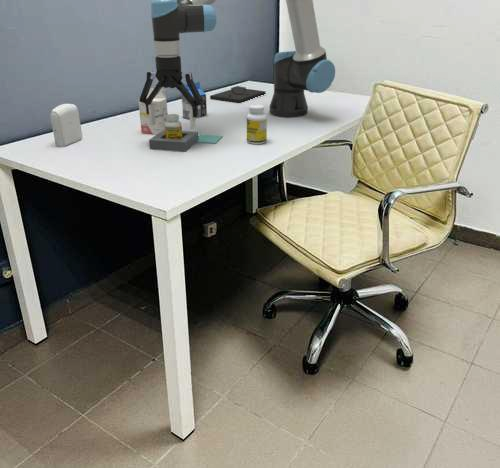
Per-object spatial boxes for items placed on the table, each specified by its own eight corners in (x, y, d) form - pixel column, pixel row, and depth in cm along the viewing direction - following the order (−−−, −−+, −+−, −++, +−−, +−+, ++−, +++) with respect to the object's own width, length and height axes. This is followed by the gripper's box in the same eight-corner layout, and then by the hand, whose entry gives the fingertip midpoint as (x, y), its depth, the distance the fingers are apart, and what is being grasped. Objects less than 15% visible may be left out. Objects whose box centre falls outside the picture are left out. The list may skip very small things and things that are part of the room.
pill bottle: (243, 140, 167) (243, 105, 162) (261, 138, 170) (262, 103, 164) (251, 145, 162) (251, 109, 157) (269, 143, 164) (270, 107, 159)
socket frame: (198, 140, 167) (198, 131, 166) (185, 151, 157) (185, 142, 156) (164, 138, 170) (163, 129, 169) (149, 149, 160) (148, 139, 158)
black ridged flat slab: (237, 92, 239) (210, 100, 224) (237, 86, 238) (209, 93, 222) (265, 95, 231) (239, 104, 216) (265, 89, 230) (239, 98, 214)
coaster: (222, 136, 171) (222, 135, 171) (215, 143, 164) (215, 142, 164) (200, 135, 173) (200, 134, 173) (192, 142, 166) (192, 141, 166)
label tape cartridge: (188, 119, 192) (186, 86, 186) (182, 117, 195) (180, 84, 189) (207, 115, 197) (205, 83, 192) (201, 114, 200) (199, 81, 194)
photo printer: (64, 147, 162) (57, 108, 156) (53, 146, 164) (46, 107, 158) (84, 138, 171) (79, 101, 165) (74, 137, 172) (68, 100, 166)
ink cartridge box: (140, 133, 176) (136, 90, 169) (148, 129, 180) (143, 87, 173) (163, 135, 173) (159, 91, 167) (169, 131, 177) (166, 88, 171)
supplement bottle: (182, 142, 166) (180, 112, 162) (184, 146, 162) (182, 116, 157) (165, 143, 165) (163, 113, 161) (167, 148, 161) (164, 117, 156)
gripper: (211, 55, 152) (214, 125, 161) (134, 52, 157) (141, 120, 167) (203, 58, 145) (206, 131, 155) (123, 55, 151) (131, 126, 160)
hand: (172, 126), depth 161 cm, fingers open, 13 cm apart
